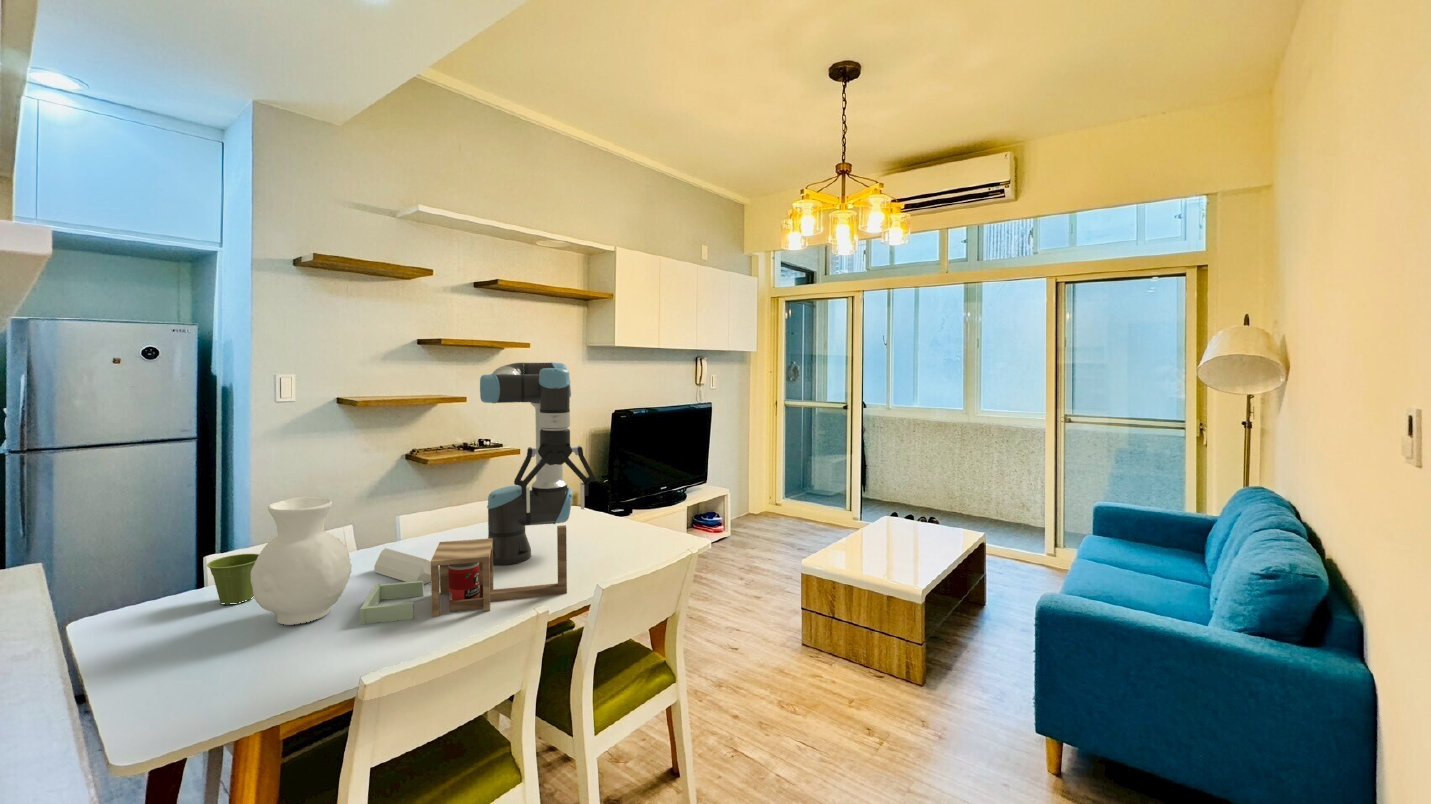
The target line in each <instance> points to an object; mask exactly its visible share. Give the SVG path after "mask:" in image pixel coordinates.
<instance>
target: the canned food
mask: <svg viewBox="0 0 1431 804" xmlns="http://www.w3.org/2000/svg"><path fill="white" fill-rule="evenodd" d="M448 576H449V594H448V597H449V598H448V600H449V601H448V602H449V603H450V601H456V600H466V599H476V598H481V597H480V595H481V593H480V580H479V562H473V563H461V564H449V565H448Z"/></svg>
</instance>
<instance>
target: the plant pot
mask: <svg viewBox="0 0 1431 804" xmlns="http://www.w3.org/2000/svg"><path fill="white" fill-rule="evenodd" d="M259 554H260V553H259ZM259 554H258V553H241V554H233V555H227V556H223V557H220V558H215V559H214V560H211V561H209V562H208V563H207V564H206V567H207V568H209V570H210V572H211V575H212V576H213V581H214V583H215V589H216V591H217V595H218V600H219V603H220V602H221V603H225V605H228V604H230V603H239V602H242V601H245V600H248V599H249V600H252V599H251V598H252V597H253V596H254V594H253V588H252V584H251V570H252V568H253V566H254V564H255V561H256V560H257V557H258V556H259ZM253 598H254V597H253ZM249 600H248V601H249ZM221 603H220V604H221Z"/></svg>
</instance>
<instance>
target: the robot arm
mask: <svg viewBox="0 0 1431 804" xmlns="http://www.w3.org/2000/svg"><path fill="white" fill-rule="evenodd" d="M571 387H572V386H571V377H570V371H569V369H568V367H567V365H566V364H564V363H561V362H553V361H551V362H514V363H510V364H505V365H502V366H500V367H497V368H496V369H494V371H493V372H492V373H490V374H482V375H481V376H480V378H479V396H480V397H479V398H480V400H481V402H482V403H485V404H486V403H487V404H504V403H505V404H506V403H511V404H512V403H530V404H531V406H533V408H534V409H535V448H532V447H531V446H529V447H527V450H526V457H525V458H524V460H523V462H522V464H521V466H520V468H519V470H518V472H517V475H516V476H515V478H514V481H513V484H514V485H509V486H505V487H500V488H498V489H494V490H493V491H491V492H490V493H489V494H488V496H487V505H486V508H487V524H488V525H487V526H488V527H487V530H488V531H487V533H488V534H487V535H488V536H487V539H488V538H493V566H507V565H514V564H519V563H522V562H524V561H528V560H529V559H531V557H532V549H531V545H530V542H529V539H528V537H527V534H526V527H527V526H542V525H556V524H563V523H566V522H567V521H568V520H569V518H570V515H571V507H572V496H573V489H572V488H571V487H568V482H567V481H566V480H565V479H564V477H563V474H564V473H563V471H564V470H563V467H564V466H563V465H564V464H566V465H567V467H568V468H570V469H571V471H572V472H574V474H575V475H576V476H577V477H578V478H579V479H580V480H581V482H580V509H581V510H585V497H588V496H589V493H590V492H589V491H590V490H589V484H590V483H592V482H596V476H595V475H594V473H593V471H592V468H591V467H590V465H589V463H588V461H587V459H586V457H585V455H584V449H583V447H582V445H578V446H575V447H571V430H570V426H571V410H570V409H571V408H570V407H571V405H570V403H571V401H570V399H571V397H572V392H571V391H572V389H571ZM572 453H574V454H575V455H576V456H578V457H579V460H580V461H581V464H582V467H584V469H585V471H586V473H587V474H588V477H587V476H586V475H585V474H584V473H583V472H582V470H580V468H578V467H577V465H576V464H575V463H574V462H573V461H572V460H571V458H569V457H570V456H571V454H572ZM534 457H535V466H534V467H533V469H532V470H530V472H529V473H528V474H527V475H526V476H525V478H524V479H523V477H524V474H525V472H526V471H527V469H528V466H529V464H530V463H531V460H532V458H534ZM534 477H536V479H535V480H534V482H533V483H532V484H531V488H530V484H529V483H530V482H531V481H532V480H533V479H534ZM522 479H523V480H522Z"/></svg>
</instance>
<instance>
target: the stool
mask: <svg viewBox="0 0 1431 804" xmlns="http://www.w3.org/2000/svg"><path fill="white" fill-rule="evenodd" d="M430 562H431V582H430V583H431V589H430V590H431V617H432V618H435V617H440V614H441V611H440V610H441V607H440V604H441V603H440V595H446V594H447V595H449V576H448V565H449V564H461V563H473V562H479V580H480V583H483V593H482V594H483V595H482V598H483V608H482V609H483V612H490V611H491V601H490V590H494V565H493V538H488V537H487V538H477V539H476V538H475V539H463V540H452V541H451V540H450V541H448V540H447V541H440V542H438V545H437V547H436V549H435V551H434V553H433V555H432V557H431V560H430Z"/></svg>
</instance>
